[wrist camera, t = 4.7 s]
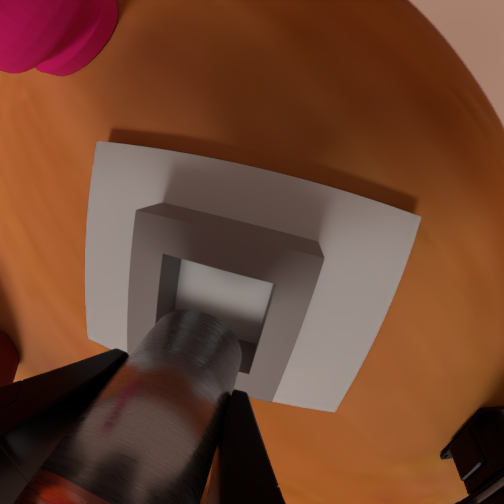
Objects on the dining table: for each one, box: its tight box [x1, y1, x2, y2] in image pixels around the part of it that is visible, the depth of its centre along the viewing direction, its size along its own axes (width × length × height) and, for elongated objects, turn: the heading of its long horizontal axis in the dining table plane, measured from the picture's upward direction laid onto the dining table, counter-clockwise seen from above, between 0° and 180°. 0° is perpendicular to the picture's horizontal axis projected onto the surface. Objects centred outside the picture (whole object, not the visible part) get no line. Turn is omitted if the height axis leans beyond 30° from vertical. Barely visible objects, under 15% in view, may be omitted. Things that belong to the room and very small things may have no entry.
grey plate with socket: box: [85, 141, 421, 412], centre depth 13 cm, size 16×12×4 cm
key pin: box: [13, 309, 242, 504], centre depth 6 cm, size 3×3×8 cm
